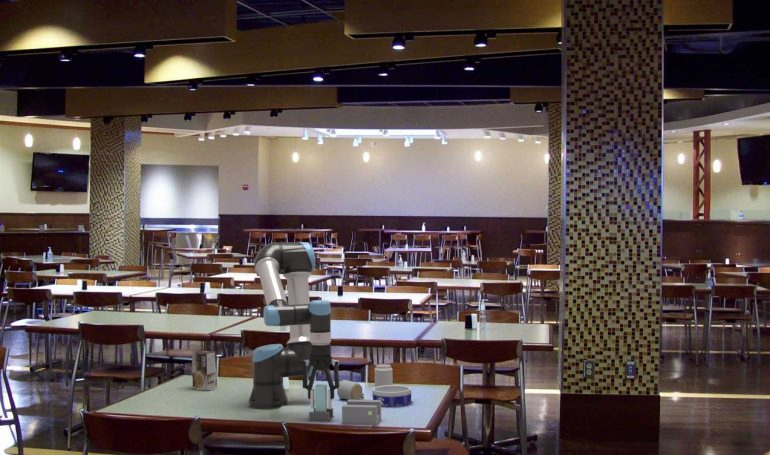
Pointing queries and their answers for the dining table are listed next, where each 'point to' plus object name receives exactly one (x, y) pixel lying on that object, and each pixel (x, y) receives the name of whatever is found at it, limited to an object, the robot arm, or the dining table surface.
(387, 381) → the can
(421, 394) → the dining table surface
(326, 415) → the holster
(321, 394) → the plug
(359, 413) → the port
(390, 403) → the dog bowl
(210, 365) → the coffee box
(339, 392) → the ceramic mug
